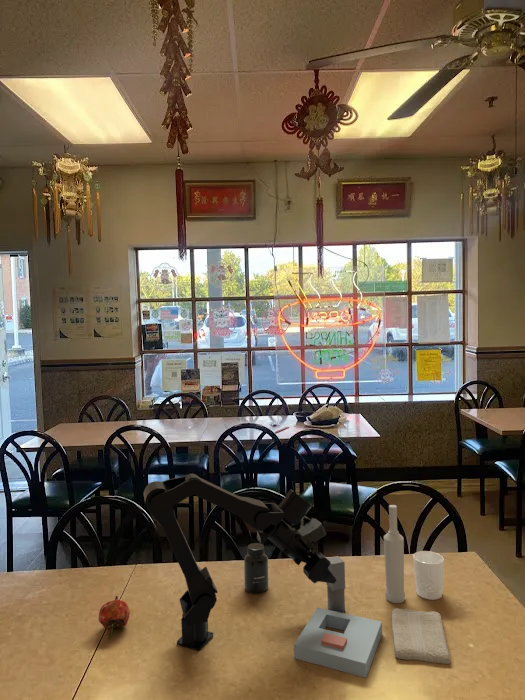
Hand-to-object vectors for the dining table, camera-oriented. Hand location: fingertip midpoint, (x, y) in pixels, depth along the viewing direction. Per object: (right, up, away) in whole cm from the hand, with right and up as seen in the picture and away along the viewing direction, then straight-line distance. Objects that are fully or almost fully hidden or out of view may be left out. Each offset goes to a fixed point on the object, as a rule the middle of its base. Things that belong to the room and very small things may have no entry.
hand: (327, 573), depth 125 cm
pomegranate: (-53, -12, -5) cm, 55 cm away
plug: (+2, -10, +1) cm, 10 cm away
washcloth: (+20, -10, -12) cm, 25 cm away
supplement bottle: (-18, -10, +13) cm, 25 cm away
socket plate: (+1, -10, -14) cm, 17 cm away
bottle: (+19, -9, +5) cm, 22 cm away
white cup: (+29, -9, +7) cm, 31 cm away
